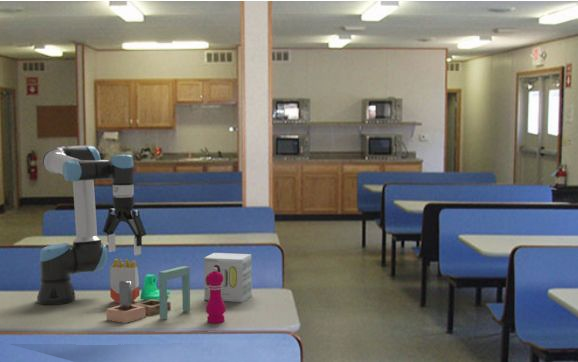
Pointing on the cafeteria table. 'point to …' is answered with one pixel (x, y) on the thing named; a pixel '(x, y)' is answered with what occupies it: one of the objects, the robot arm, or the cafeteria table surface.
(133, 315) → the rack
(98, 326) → the cafeteria table surface
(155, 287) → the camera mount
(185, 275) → the teal green arch
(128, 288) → the metal cylinder
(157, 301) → the socket block
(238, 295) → the supplement box
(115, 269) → the french fries container
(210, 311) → the pepper mill
